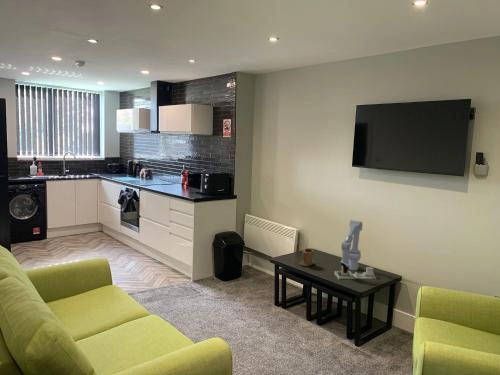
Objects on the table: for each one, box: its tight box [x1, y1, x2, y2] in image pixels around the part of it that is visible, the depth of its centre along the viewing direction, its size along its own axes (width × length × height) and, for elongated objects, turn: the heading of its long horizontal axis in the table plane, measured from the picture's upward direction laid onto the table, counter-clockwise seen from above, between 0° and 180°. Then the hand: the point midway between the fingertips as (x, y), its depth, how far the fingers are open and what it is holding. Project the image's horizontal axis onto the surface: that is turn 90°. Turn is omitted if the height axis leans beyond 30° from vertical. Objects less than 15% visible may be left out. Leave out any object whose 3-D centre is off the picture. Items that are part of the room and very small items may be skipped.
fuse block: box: [352, 271, 377, 279], centre depth 319 cm, size 10×18×4 cm, turn 93°
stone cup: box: [298, 248, 316, 267], centre depth 345 cm, size 15×12×15 cm
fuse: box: [365, 266, 374, 277], centre depth 318 cm, size 3×5×7 cm, turn 93°
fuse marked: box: [340, 265, 349, 276], centre depth 317 cm, size 3×5×7 cm, turn 93°
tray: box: [334, 270, 356, 281], centre depth 318 cm, size 13×13×3 cm
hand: (344, 272), depth 317 cm, fingers closed on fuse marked, 3 cm apart
